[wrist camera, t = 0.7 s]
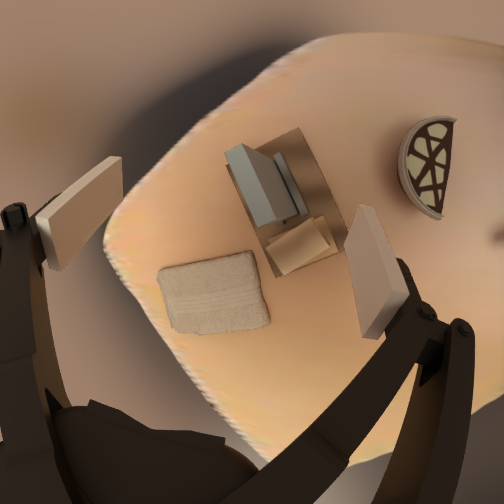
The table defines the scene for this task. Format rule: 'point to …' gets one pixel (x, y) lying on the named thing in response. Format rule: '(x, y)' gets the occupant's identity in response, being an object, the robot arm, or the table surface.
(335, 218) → the brown rectangular board
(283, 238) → the offcut stack
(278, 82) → the table surface
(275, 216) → the tall panel
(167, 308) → the washcloth
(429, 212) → the food container
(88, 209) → the robot arm
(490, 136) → the table surface
